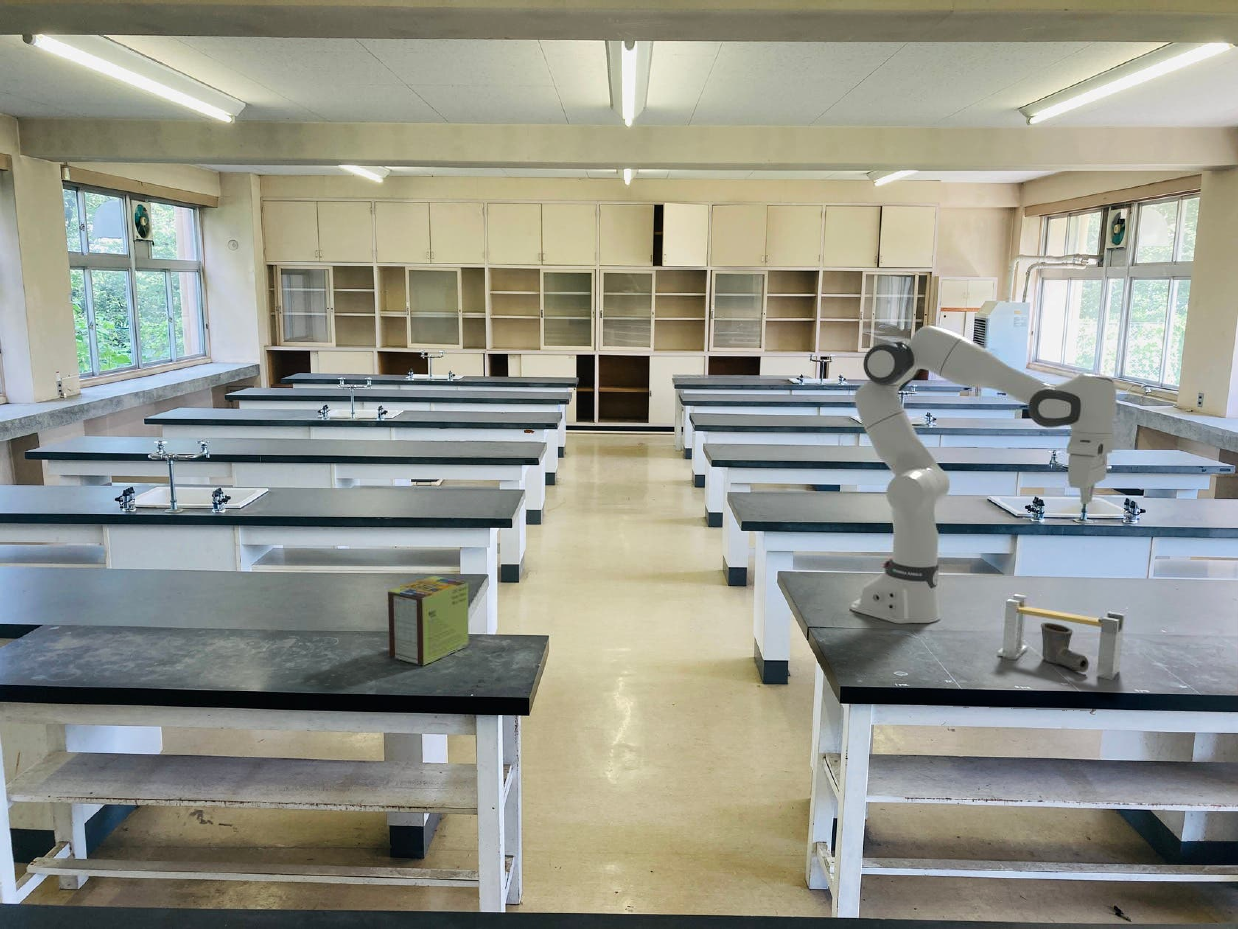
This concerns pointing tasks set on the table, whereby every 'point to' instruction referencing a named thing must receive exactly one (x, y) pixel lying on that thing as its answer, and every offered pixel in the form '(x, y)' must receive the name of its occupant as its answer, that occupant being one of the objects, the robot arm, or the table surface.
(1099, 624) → the yellow bar
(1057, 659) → the pipe
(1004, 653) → the grey slotted stand
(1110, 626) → the stop block
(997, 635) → the table surface
